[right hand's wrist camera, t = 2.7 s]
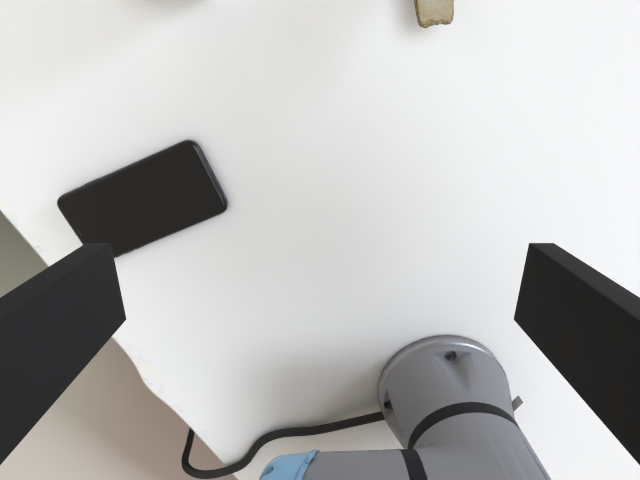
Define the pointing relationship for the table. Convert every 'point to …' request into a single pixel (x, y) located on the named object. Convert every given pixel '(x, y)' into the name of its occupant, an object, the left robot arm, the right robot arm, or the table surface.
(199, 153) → the smartphone
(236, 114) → the table surface
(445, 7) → the tool
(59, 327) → the right robot arm
